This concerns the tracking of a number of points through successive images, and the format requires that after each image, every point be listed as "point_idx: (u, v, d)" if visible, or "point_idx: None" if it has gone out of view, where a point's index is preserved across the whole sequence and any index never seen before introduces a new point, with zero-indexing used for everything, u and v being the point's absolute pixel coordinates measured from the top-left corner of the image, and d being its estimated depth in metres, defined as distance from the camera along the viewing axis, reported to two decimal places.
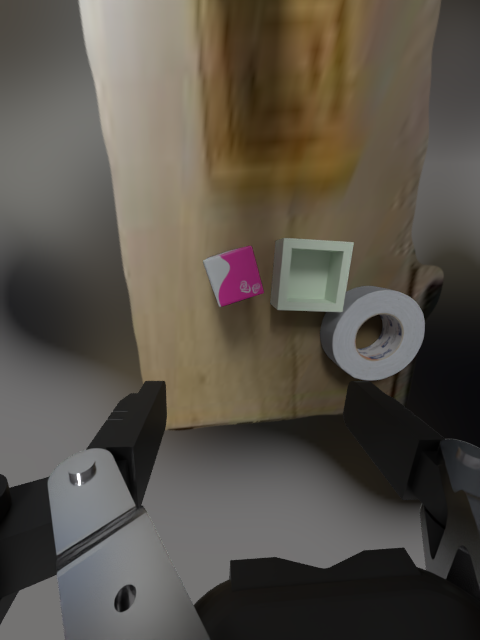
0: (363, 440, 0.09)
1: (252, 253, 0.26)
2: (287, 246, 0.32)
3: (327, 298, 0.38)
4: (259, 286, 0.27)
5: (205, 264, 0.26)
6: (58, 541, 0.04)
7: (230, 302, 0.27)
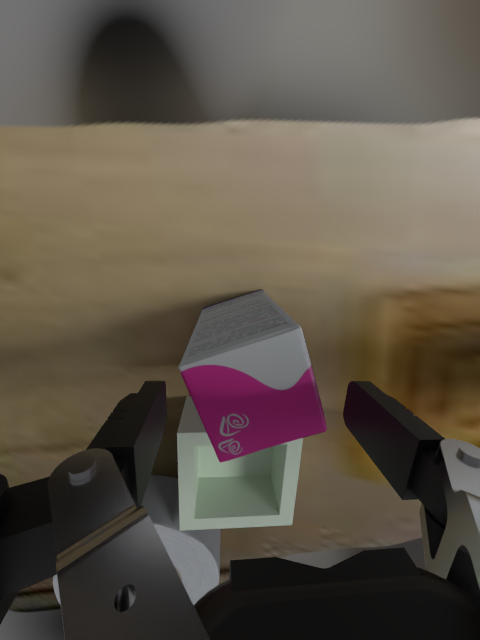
0: (363, 440, 0.09)
1: (310, 434, 0.11)
2: None
3: (200, 487, 0.23)
4: (233, 454, 0.11)
5: (292, 332, 0.10)
6: (58, 541, 0.04)
7: (191, 392, 0.10)
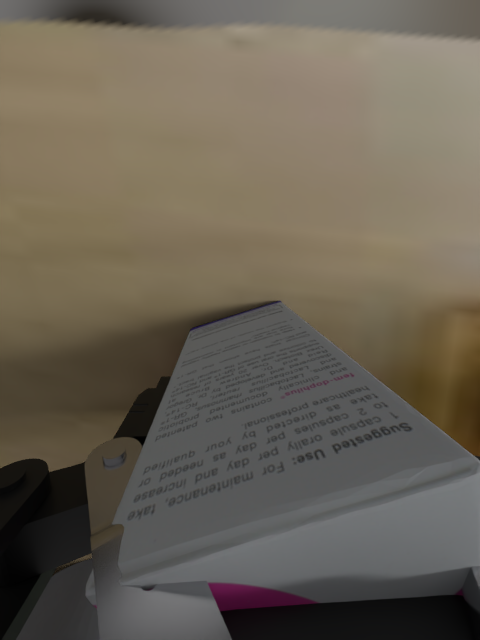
0: None
1: None
2: None
3: None
4: None
5: (456, 483, 0.03)
6: (92, 519, 0.04)
7: None
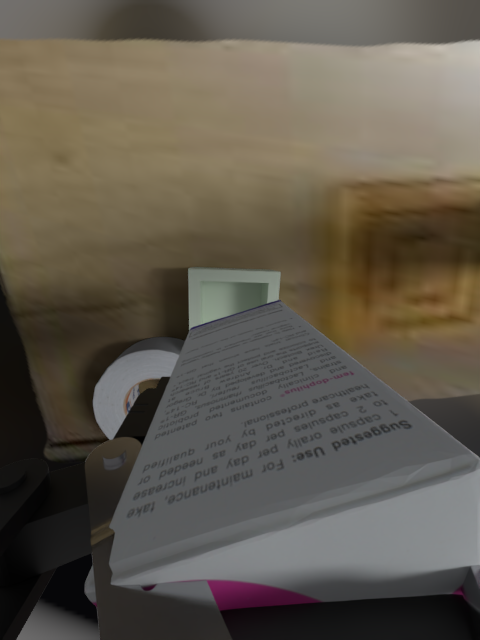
0: None
1: None
2: (270, 277, 0.26)
3: None
4: None
5: (455, 480, 0.03)
6: (92, 519, 0.04)
7: None
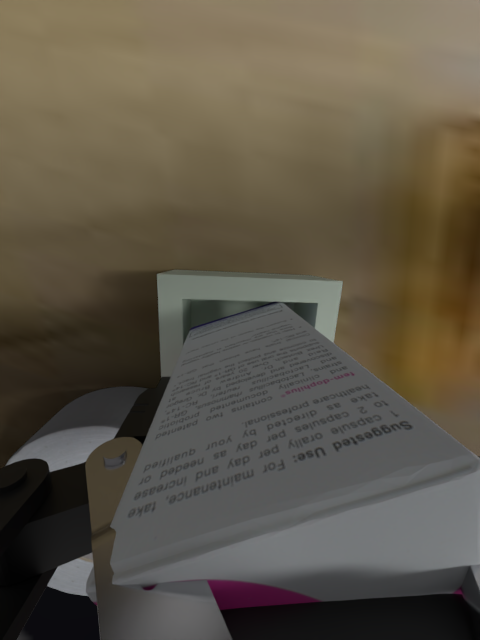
0: None
1: None
2: (322, 291, 0.13)
3: None
4: None
5: (456, 481, 0.03)
6: (93, 518, 0.04)
7: None
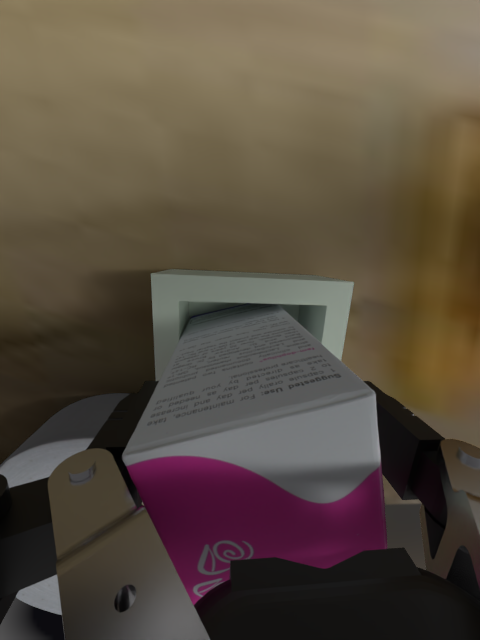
0: None
1: None
2: (332, 292, 0.12)
3: None
4: None
5: (357, 402, 0.05)
6: (58, 541, 0.04)
7: (146, 504, 0.05)
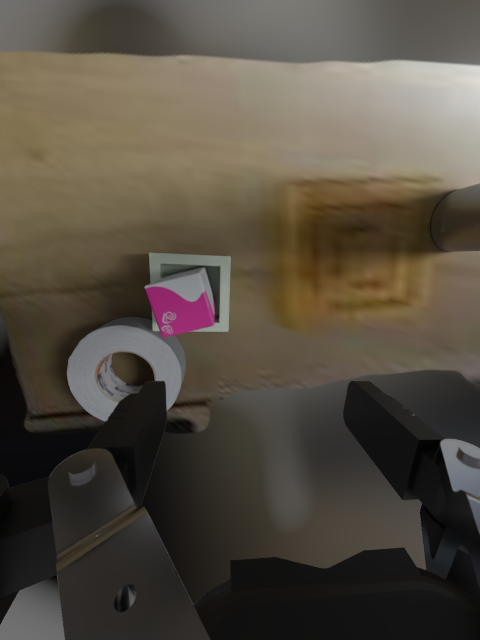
0: (363, 440, 0.09)
1: (206, 326, 0.24)
2: (222, 260, 0.30)
3: None
4: (169, 333, 0.24)
5: (195, 274, 0.23)
6: (58, 541, 0.04)
7: (149, 299, 0.23)
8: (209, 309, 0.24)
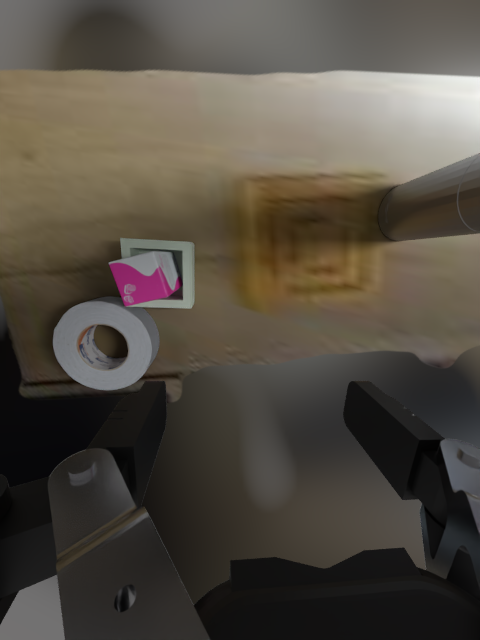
0: (363, 440, 0.09)
1: (161, 297, 0.29)
2: (183, 245, 0.35)
3: None
4: (130, 302, 0.29)
5: (150, 253, 0.28)
6: (58, 541, 0.04)
7: (113, 273, 0.28)
8: (163, 282, 0.29)
